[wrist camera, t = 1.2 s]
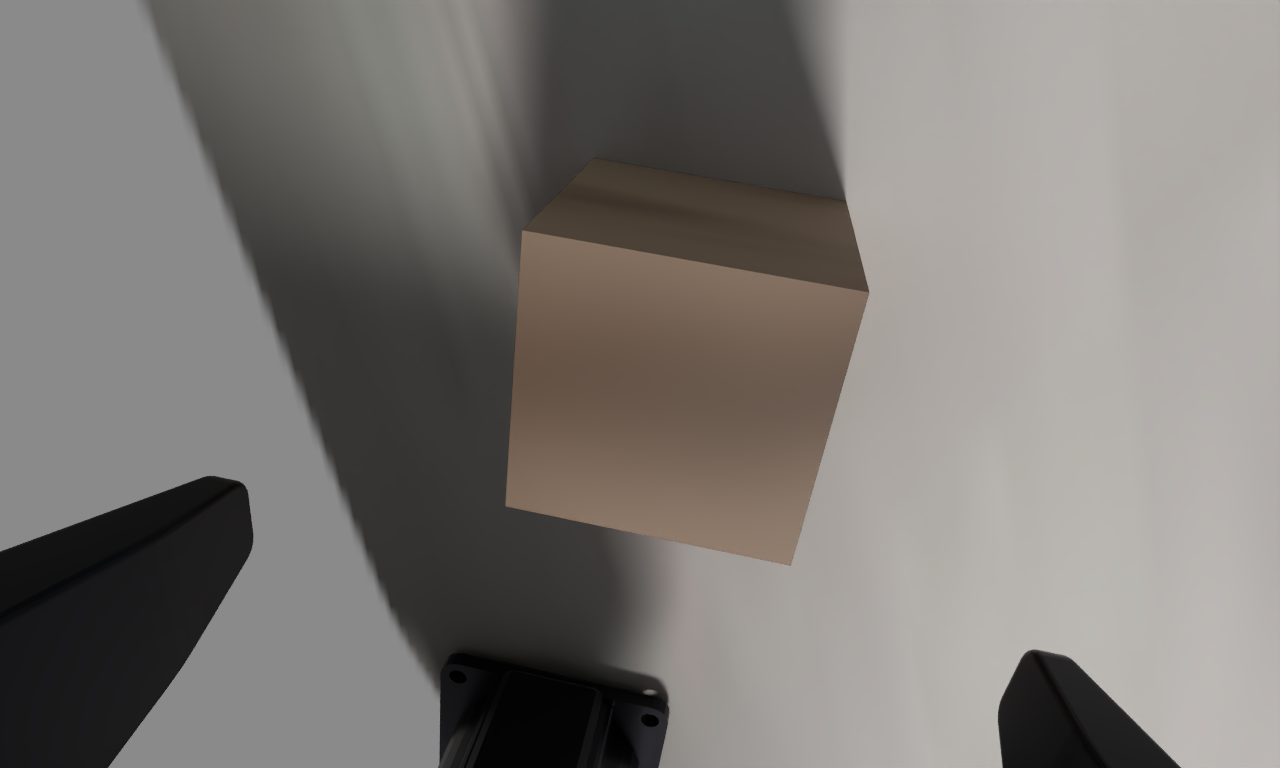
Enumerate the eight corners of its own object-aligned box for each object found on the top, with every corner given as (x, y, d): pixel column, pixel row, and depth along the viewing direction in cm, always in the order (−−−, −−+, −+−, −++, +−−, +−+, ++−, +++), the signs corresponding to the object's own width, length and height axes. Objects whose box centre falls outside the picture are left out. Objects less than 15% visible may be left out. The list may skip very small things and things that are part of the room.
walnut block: (789, 418, 18) (790, 565, 14) (572, 376, 18) (505, 506, 14) (845, 200, 16) (869, 292, 11) (594, 157, 16) (522, 229, 12)
